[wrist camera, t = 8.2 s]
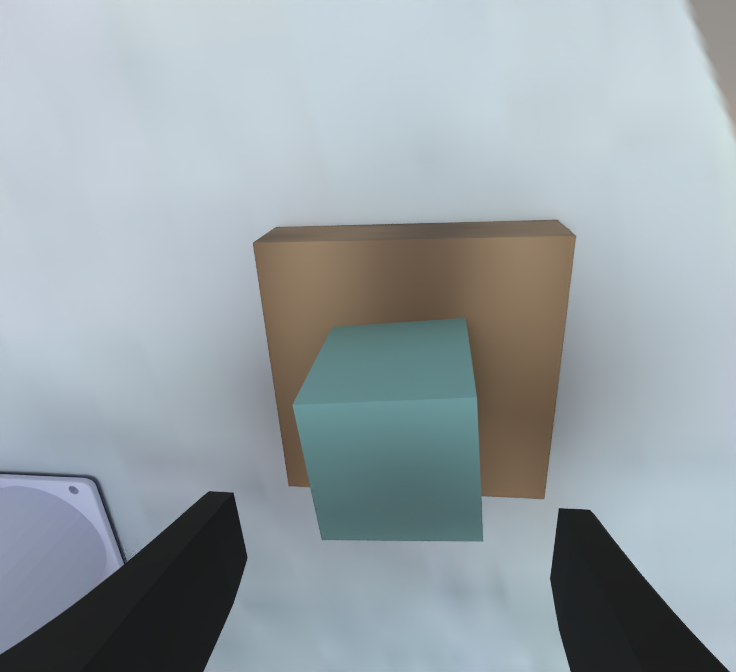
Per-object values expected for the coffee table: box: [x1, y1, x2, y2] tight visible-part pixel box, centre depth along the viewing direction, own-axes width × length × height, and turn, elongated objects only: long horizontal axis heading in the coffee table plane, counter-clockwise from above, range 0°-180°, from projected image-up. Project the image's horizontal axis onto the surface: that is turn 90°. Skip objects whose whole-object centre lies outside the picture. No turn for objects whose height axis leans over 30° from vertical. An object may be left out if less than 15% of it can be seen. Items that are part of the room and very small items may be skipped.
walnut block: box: [253, 220, 576, 499], centre depth 18 cm, size 10×10×3 cm
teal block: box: [293, 318, 483, 541], centre depth 15 cm, size 4×4×5 cm
